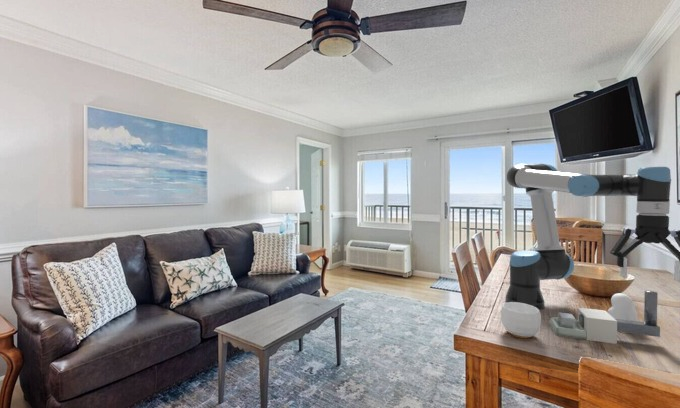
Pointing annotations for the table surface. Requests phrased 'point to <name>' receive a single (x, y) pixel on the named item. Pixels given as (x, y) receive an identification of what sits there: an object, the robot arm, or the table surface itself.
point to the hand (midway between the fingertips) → (649, 279)
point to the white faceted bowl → (521, 319)
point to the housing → (598, 325)
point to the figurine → (622, 307)
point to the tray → (567, 330)
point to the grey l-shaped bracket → (637, 327)
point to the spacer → (566, 320)
